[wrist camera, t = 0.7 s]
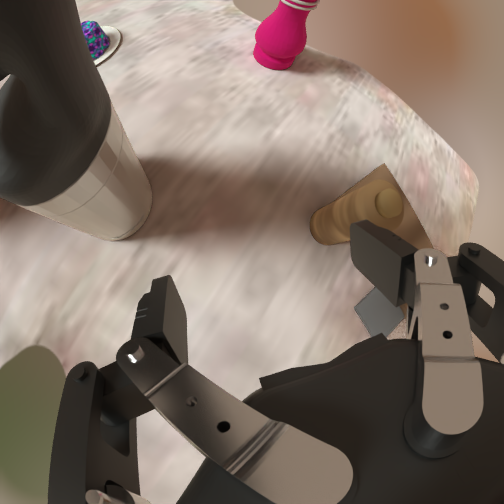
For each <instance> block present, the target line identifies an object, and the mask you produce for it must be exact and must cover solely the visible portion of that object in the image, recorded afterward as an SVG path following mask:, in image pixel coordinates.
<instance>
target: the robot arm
mask: <svg viewBox="0 0 504 504" xmlns="http://www.w3.org/2000/svg"><path fill="white" fill-rule="evenodd" d="M9 74H11V75H10V77H9V78H8V80H7V81H6V82H5V84H4V85H3V86H2V88H1V89H0V198H2V199H4V200H7V201H9V202H11V203H14V204H16V205H18V206H20V207H23V208H25V209H27V210H30V211H32V212H34V213H37V214H40V215H42V216H44V217H47V218H49V219H52V220H54V221H57V222H59V223H62V224H64V225H67V226H69V227H72V228H74V229H77V230H79V231H82V232H84V233H87V234H89V235H92V236H95V237H98V238H100V239H103V240H108V241H116V240H121V239H124V238H127V237H129V236H130V235H132V234H134V233H135V232H136V231H137V230H138V229H139V228H141V226H142V225H143V224H144V222H145V221H146V219H147V217H148V215H149V213H150V210H151V206H152V190H151V186H150V183H149V181H148V179H147V177H146V175H145V173H144V170H143V168H142V166H141V164H140V162H139V160H138V158H137V156H136V154H135V152H134V150H133V148H132V146H131V143H130V141H129V139H128V137H127V135H126V133H125V131H124V128H123V126H122V124H121V122H120V120H119V117H118V115H117V113H116V111H115V109H114V107H113V104H112V102H111V100H110V97H109V94H108V92H107V90H106V87H105V85H104V83H103V81H102V79H101V76H100V74H99V72H98V70H97V68H96V65H95V63H94V61H93V58H92V56H91V53H90V50H89V48H88V45H87V43H86V40H85V37H84V33H83V30H82V27H81V23H80V19H79V15H78V10H77V6H76V2H75V0H0V81H1V80H3V79H4V78H5V77H6V76H8V75H9ZM350 246H351V258H352V261H353V264H354V266H355V267H356V268H357V269H358V270H359V271H360V272H361V273H362V274H363V275H364V276H365V277H366V278H367V279H368V280H369V281H370V282H371V283H372V284H373V285H374V286H375V287H376V288H377V289H378V290H379V291H380V292H381V293H382V294H383V295H384V296H385V297H386V298H387V299H388V300H389V301H390V302H391V303H392V304H393V305H394V306H395V307H398V306H401V305H403V304H405V303H407V304H408V306H407V318H406V339H392V340H388V339H387V338H386V337H385V336H384V334H383V333H380V334H378V335H375V336H373V337H371V338H369V339H366V340H364V341H362V342H359V343H357V344H355V345H354V346H352V347H351V348H349V349H348V350H346V351H345V352H344V353H342V354H341V355H339V356H338V357H336V358H335V359H333V360H332V361H330V362H328V363H324V364H318V365H311V366H304V367H296V368H290V369H287V370H284V371H281V372H278V373H275V374H272V375H268V376H265V377H261V378H259V379H260V383H261V386H262V388H260V389H258V390H256V391H255V392H253V393H252V394H250V395H249V396H248V397H246V398H245V399H244V400H243V401H240V400H238V399H237V398H235V397H234V396H232V395H231V394H229V393H228V392H226V391H225V390H223V389H222V388H220V387H219V386H217V385H216V384H215V383H213V382H212V381H210V380H209V379H207V378H206V377H205V376H203V375H202V374H200V373H199V372H198V371H196V370H195V369H194V368H192V367H191V366H190V365H188V348H187V317H186V312H185V308H184V305H183V303H182V300H181V298H180V296H179V293H178V291H177V289H176V286H175V284H174V282H173V279H172V277H171V276H170V275H167V276H164V277H160V278H157V279H153V281H152V286H151V291H150V293H146V294H144V296H143V297H142V298H141V300H140V301H139V303H138V307H137V312H136V316H135V318H136V319H135V321H134V326H133V330H132V335H131V340H129V341H128V342H126V343H125V344H123V345H122V346H121V348H120V349H119V350H118V352H117V355H116V361H115V362H113V363H111V364H109V365H107V366H105V367H103V368H100V369H98V368H97V367H96V365H95V364H94V363H92V362H89V361H86V362H81V363H79V364H77V365H76V366H75V367H73V368H72V369H71V370H70V372H69V373H68V375H67V378H66V381H65V385H64V389H63V394H62V398H61V402H60V407H59V412H58V417H57V422H56V428H55V434H54V440H53V447H52V454H51V464H50V474H49V487H48V504H151V503H150V502H149V501H148V500H147V499H145V498H143V497H141V495H140V485H139V473H138V458H137V428H136V417H138V416H140V415H142V414H145V413H147V412H149V411H151V410H153V409H156V410H157V412H158V413H159V414H160V415H161V416H162V417H163V418H164V419H165V420H166V421H167V422H168V423H169V424H170V425H171V426H172V427H173V428H174V429H175V430H176V431H177V432H178V433H180V434H181V435H182V436H183V437H184V438H185V439H186V440H187V441H188V442H189V443H190V444H191V445H192V446H193V447H195V448H196V449H197V450H198V451H199V452H200V453H201V454H203V455H204V456H205V457H206V458H205V460H204V461H203V463H202V465H201V466H200V468H199V469H198V471H197V473H196V474H195V476H194V477H193V479H192V480H191V482H190V483H189V485H188V486H187V488H186V489H185V491H184V493H183V494H182V496H181V497H180V498H179V500H178V501H177V503H176V504H504V261H503V260H501V259H500V258H498V257H497V256H496V255H494V254H493V253H491V252H490V251H489V250H487V249H486V248H484V247H483V246H481V245H479V244H476V243H464V244H462V245H461V246H460V248H459V254H458V256H453V257H446V255H445V254H444V253H442V252H441V251H439V250H436V249H431V248H425V249H420V250H419V249H417V248H416V247H414V246H413V245H411V244H410V243H408V242H407V241H405V240H404V239H402V238H401V237H399V236H398V235H396V234H395V233H393V232H392V231H390V230H389V229H385V228H382V227H379V226H377V225H375V224H374V223H372V222H370V221H369V220H367V219H365V220H361V221H358V222H354V223H351V225H350ZM481 283H483V284H484V285H485V286H486V287H488V288H489V289H490V290H491V291H492V292H493V293H494V296H495V305H494V308H492V307H491V306H490V305H489V304H487V303H486V302H485V301H484V300H483V299H482V298H481V297H480V296H479V295H478V293H479V290H480V286H481ZM470 329H471V330H470ZM471 331H472V332H473V333H474V334H475V335H476V336H477V337H478V338H479V339H480V340H481V342H482V343H483V344H484V345H485V346H486V347H487V348H488V349H489V351H490V352H491V353H492V354H493V355H494V356H495V358H496V359H497V360H498V361H499V362H500V363H498V362H494V361H489V360H486V359H482V358H478V357H475V356H474V350H473V343H472V336H471Z"/></svg>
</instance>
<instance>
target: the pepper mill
mask: <svg viewBox="0 0 504 504" xmlns="http://www.w3.org/2000/svg"><path fill="white" fill-rule="evenodd" d="M319 2H320V0H280V2H279V5H278V7H277V9H276V10H275V11H274V12H273V13H272V14H271V15H270V16H269V17H267V18H266V19H265V20H264V21H263V22H262V23H261V24H260V25H259V27H258V29H257V31H256V34H255V39H256V42H257V43H256V45H255V48H254V51H253V55H254V58H255V59H256V61H257V62H259V63H260V64H261V65H263V66H265V67H267V68H270V69H274V70H282V69H286V68H288V67H290V66H291V65H292V63H293V61H294V59H295V57H296V55H298V54H300V53H301V52H302V51H303V49H304V47H305V44H306V38H307V35H306V27H305V22H306V18H307V16H308V14H309V12H310V11H311V10H314V9H315V8H316V7H317V4H318V3H319Z"/></svg>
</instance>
